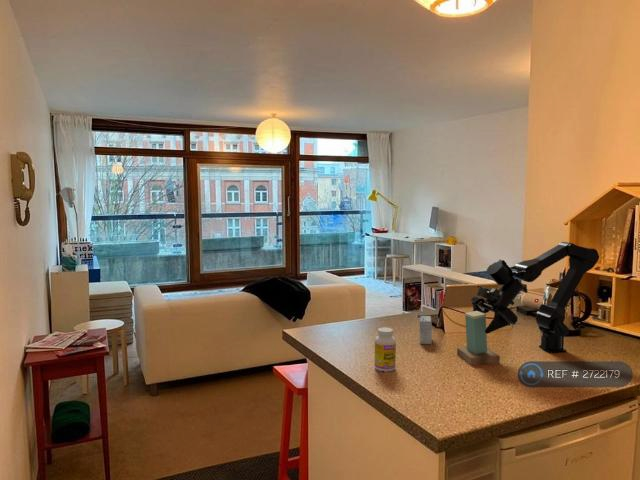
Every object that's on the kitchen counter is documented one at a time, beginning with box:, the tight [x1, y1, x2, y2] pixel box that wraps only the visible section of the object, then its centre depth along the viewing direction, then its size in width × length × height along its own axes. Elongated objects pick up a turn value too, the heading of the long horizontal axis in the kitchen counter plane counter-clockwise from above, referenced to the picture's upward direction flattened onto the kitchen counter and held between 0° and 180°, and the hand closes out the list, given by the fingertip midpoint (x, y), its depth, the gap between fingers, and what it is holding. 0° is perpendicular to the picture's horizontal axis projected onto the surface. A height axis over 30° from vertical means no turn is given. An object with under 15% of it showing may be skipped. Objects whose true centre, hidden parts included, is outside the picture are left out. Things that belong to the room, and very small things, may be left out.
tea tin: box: [464, 310, 488, 354], centre depth 157 cm, size 5×5×13 cm
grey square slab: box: [456, 346, 501, 366], centre depth 157 cm, size 10×10×3 cm
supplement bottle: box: [374, 326, 397, 373], centre depth 149 cm, size 7×7×13 cm
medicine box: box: [418, 315, 433, 345], centre depth 176 cm, size 8×4×9 cm, turn 168°
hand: (477, 328), depth 156 cm, fingers open, 9 cm apart
